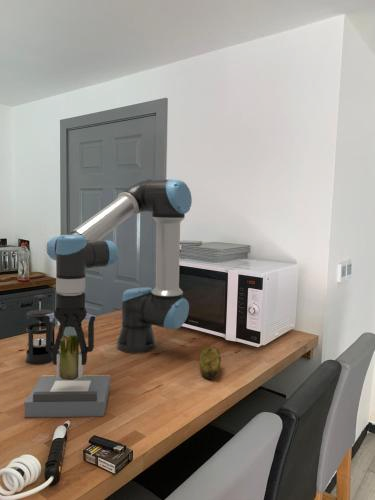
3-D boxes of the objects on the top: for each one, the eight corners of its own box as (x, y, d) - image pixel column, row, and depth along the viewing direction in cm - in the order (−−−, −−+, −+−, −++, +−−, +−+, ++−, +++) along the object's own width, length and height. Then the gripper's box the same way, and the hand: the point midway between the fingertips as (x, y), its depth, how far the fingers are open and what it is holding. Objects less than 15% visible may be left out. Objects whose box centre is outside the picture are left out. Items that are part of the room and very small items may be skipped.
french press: (39, 367, 133) (39, 300, 130) (18, 362, 136) (17, 296, 134) (63, 355, 144) (63, 293, 141) (42, 351, 147) (42, 290, 145)
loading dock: (109, 387, 120) (110, 368, 120) (103, 416, 104) (104, 394, 103) (41, 387, 118) (41, 368, 118) (24, 417, 102) (24, 395, 101)
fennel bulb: (59, 383, 106) (60, 339, 104) (57, 376, 110) (58, 334, 109) (81, 380, 108) (82, 337, 107) (79, 373, 113) (79, 332, 111)
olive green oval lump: (191, 378, 129) (192, 354, 128) (202, 364, 141) (203, 342, 140) (216, 383, 127) (217, 358, 126) (225, 368, 139) (226, 345, 138)
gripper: (106, 290, 111) (104, 370, 114) (39, 288, 109) (39, 370, 112) (103, 296, 104) (101, 381, 106) (31, 294, 102) (31, 381, 104)
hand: (69, 375), depth 109 cm, fingers closed on fennel bulb, 5 cm apart
